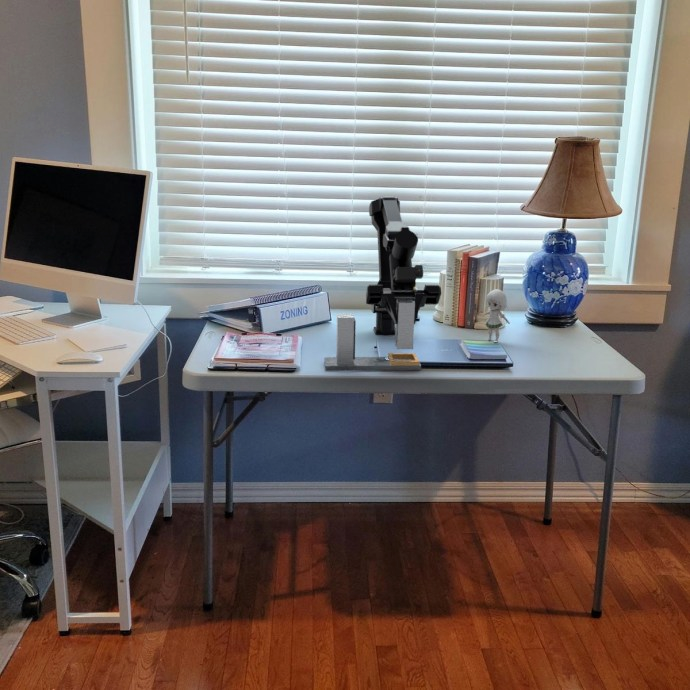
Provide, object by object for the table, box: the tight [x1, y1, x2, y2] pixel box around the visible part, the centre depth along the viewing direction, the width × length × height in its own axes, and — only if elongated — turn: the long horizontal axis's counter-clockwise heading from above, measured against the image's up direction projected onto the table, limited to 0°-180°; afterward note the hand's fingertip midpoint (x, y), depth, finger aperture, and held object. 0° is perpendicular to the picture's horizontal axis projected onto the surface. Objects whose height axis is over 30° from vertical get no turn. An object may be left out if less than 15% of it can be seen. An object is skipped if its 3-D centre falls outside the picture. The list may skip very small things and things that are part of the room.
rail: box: [324, 313, 422, 371], centre depth 196 cm, size 7×24×13 cm, turn 94°
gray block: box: [394, 298, 415, 350], centre depth 195 cm, size 4×4×12 cm
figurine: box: [481, 288, 511, 343], centre depth 219 cm, size 10×6×15 cm, turn 40°
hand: (405, 323), depth 194 cm, fingers closed on gray block, 4 cm apart
